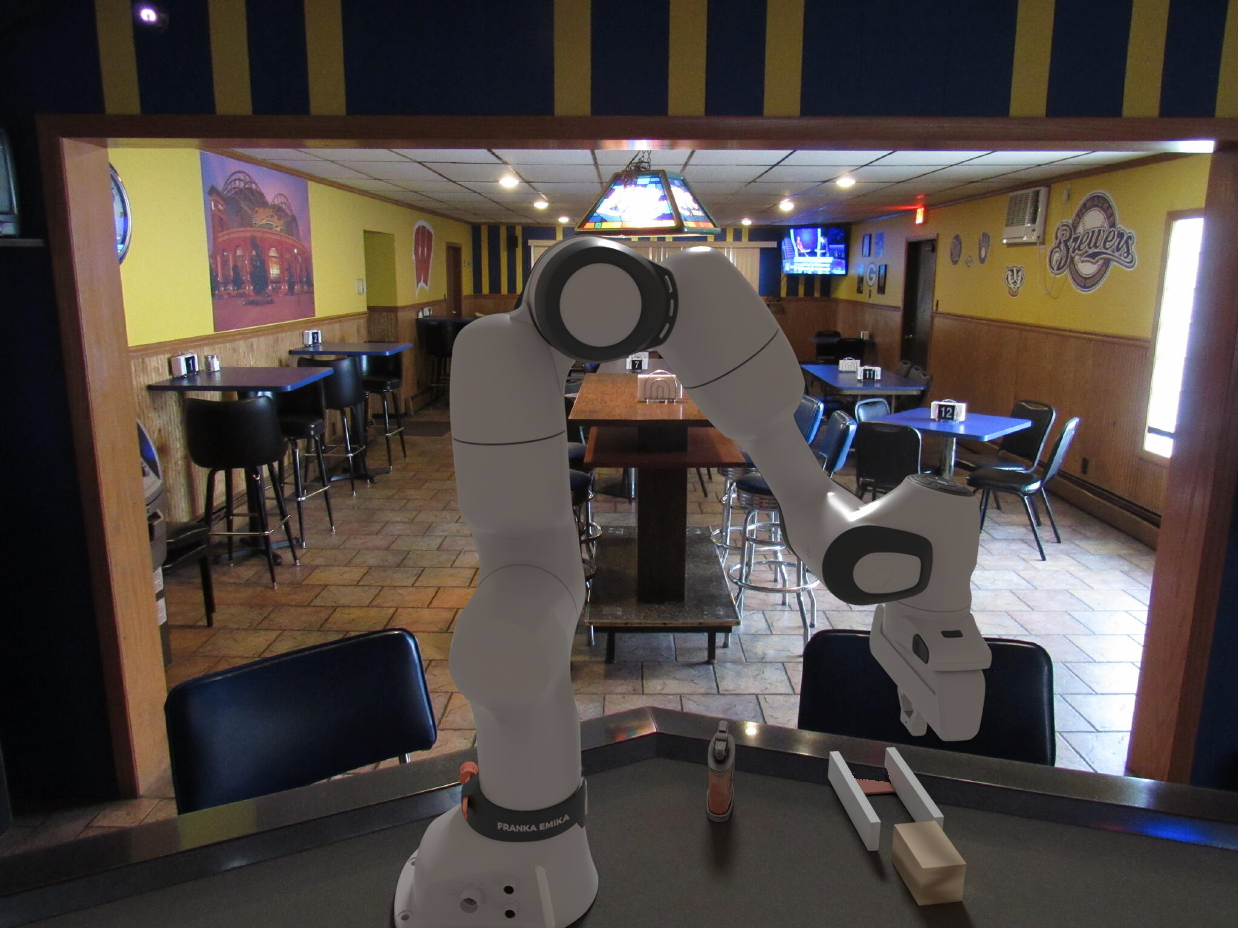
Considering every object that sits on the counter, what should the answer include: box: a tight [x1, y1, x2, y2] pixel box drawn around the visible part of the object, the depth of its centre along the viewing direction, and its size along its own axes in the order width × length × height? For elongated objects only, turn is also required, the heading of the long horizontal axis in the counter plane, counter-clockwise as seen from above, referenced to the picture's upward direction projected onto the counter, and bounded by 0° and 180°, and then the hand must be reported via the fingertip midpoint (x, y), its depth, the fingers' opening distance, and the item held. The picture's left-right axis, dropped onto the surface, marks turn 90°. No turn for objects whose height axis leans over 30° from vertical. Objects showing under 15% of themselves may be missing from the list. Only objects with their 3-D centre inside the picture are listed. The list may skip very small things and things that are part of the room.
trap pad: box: [855, 778, 896, 796], centre depth 112 cm, size 6×4×1 cm, turn 96°
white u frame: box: [827, 746, 945, 852], centre depth 107 cm, size 9×14×4 cm, turn 6°
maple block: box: [890, 821, 967, 907], centre depth 95 cm, size 5×7×5 cm
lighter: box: [706, 720, 736, 823], centre depth 108 cm, size 8×3×10 cm, turn 168°
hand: (912, 728), depth 97 cm, fingers closed
